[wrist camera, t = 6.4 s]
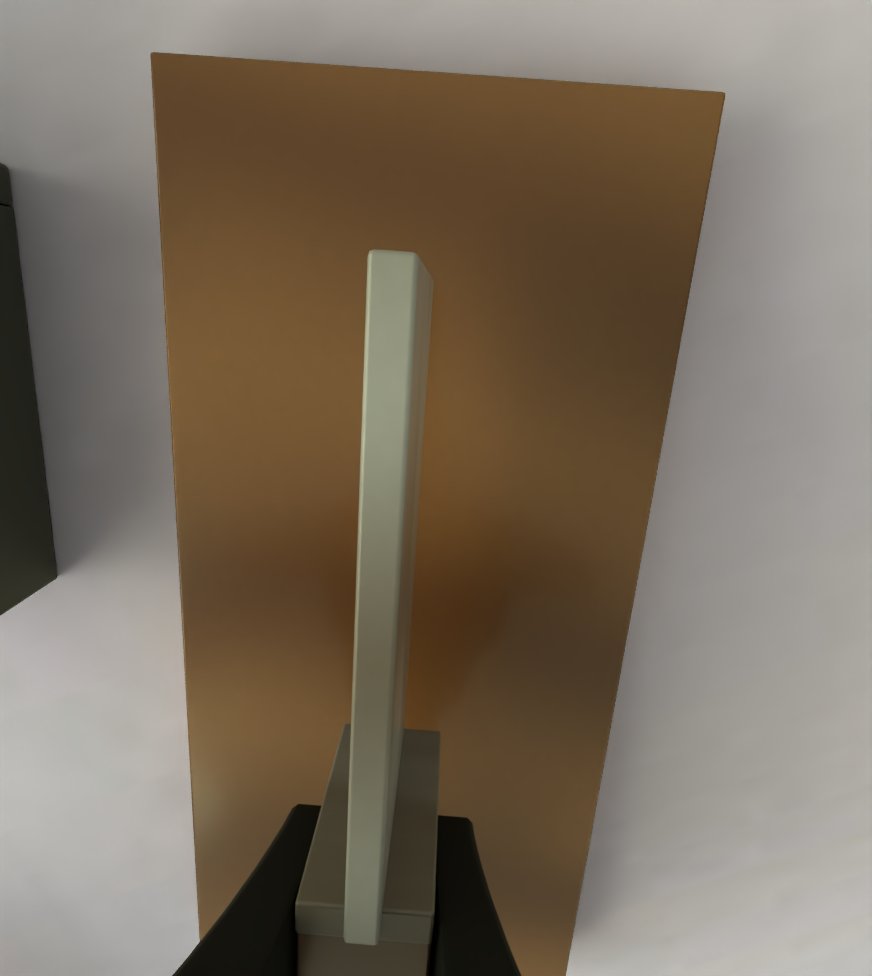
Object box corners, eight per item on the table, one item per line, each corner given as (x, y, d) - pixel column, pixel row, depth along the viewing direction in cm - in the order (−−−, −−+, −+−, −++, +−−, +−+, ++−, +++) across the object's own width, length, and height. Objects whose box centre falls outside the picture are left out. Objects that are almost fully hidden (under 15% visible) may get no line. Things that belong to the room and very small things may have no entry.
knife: (418, 986, 14) (405, 1254, 10) (335, 979, 14) (288, 1243, 10) (479, 281, 10) (497, 257, 6) (357, 272, 10) (288, 242, 6)
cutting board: (552, 949, 18) (561, 1004, 16) (221, 921, 18) (200, 974, 16) (693, 118, 12) (727, 91, 10) (186, 83, 12) (148, 50, 10)
